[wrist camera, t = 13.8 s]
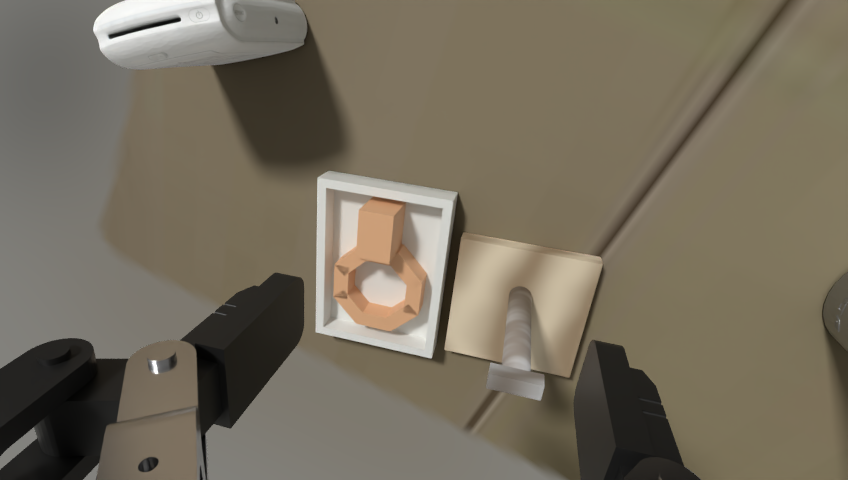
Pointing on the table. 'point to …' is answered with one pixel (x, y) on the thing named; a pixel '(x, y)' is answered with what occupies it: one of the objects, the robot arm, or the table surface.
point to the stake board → (548, 304)
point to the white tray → (378, 282)
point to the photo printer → (197, 31)
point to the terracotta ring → (381, 246)
